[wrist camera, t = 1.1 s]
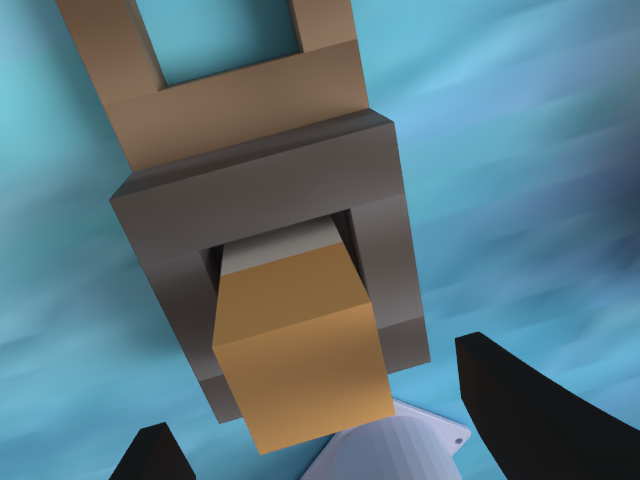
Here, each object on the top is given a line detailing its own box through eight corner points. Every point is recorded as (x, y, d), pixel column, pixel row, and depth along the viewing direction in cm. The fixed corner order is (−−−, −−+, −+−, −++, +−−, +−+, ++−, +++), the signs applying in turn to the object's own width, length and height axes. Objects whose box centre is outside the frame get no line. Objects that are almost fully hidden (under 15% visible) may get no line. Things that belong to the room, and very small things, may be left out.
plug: (347, 293, 18) (395, 414, 12) (256, 320, 18) (260, 454, 12) (327, 208, 16) (370, 301, 10) (225, 236, 16) (211, 347, 10)
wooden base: (393, 296, 22) (431, 361, 18) (225, 345, 22) (219, 424, 17) (295, -225, 13) (320, -360, 9) (9, -156, 13) (-117, -259, 8)
